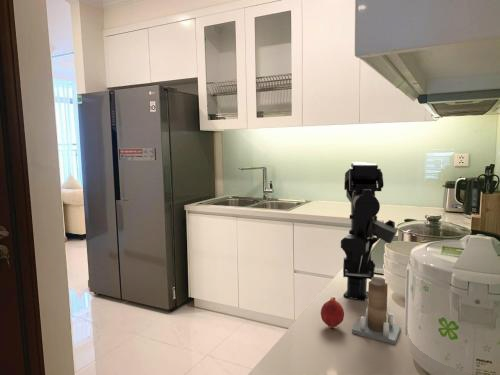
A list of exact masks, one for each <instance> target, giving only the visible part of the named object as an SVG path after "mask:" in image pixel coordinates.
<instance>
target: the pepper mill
mask: <svg viewBox="0 0 500 375" xmlns="http://www.w3.org/2000/svg"><path fill="white" fill-rule="evenodd" d="M367 287H368V289H367V291H368V297H367V308H368V322H367V327H368V328H369V329H370V330H373V331H376V332H383V326H384V322H387V321H388V289H389V286H388V282H386V279H385V278H384V277H381V276H374V277H372V278H371V279H370V281H368V286H367Z"/></svg>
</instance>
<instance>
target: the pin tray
mask: <svg viewBox="0 0 500 375" xmlns="http://www.w3.org/2000/svg"><path fill="white" fill-rule="evenodd" d="M367 322H368V307H366V308H365V316H362V315H360V316H359V318H358V319H357V320H356V322H355V324H354V325H353V327H352V328H351V333H352V334H355V335H358V336H361V337H365V338H370V339H372V340H376V341H381V342H385V343H387V344H391V345H396V344H397V343H396V342H397V341H398V337H399V335H400V332H401V328H402V326H401V325H400V324H394V314H393V313H392V312H387V321H386V322H384V326H383V332H376V331H373V330H370V329H369V328H368V327H367Z"/></svg>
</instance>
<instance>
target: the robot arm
mask: <svg viewBox="0 0 500 375" xmlns="http://www.w3.org/2000/svg"><path fill="white" fill-rule="evenodd" d="M350 163H351V164H350V167H349V168H348V170H347V171H346V172H345V173H344V188H343V189H344V191H345V192H346V193H345V194H346V196H345V197H346V198H347V200H348V201H349V202H350V214H349V220H350V229H349V230H348V234H347V235H346V236H345V237H343V238H342V239H341V240H340V248H341V249H342V251H344V253H345V257H343V263H342V274H343V276H342V277H343V278H346V279H347V281H346V282H347V284H346V285H347V287H346V290H345V292H344V293H343V294H342V295H343V297H346V298H350V299H354V300H360V301H366V299H368V289H367V287H368V286H367V282H368V280H371V278H372V277H375V270H376V269H375V268H376V263H375V262H374V259H373V258H372V256H371V255H372V254H371V252H372V249H373V246H374V244H375V243H377V242H378V241H380V240H383V241H384V242H385V243H387V244H392V242H393V241H394V239H395V237H396V235H397V232H398V231H399V230H398V227H396V224H395V221H393V220H391V219H388V220H387V221H386V222H384V221H379V220H378V214H379V211H380V208H381V204H380V202H379V200H378V198H377V197H376V192H382V189H383V188H384V177H383V176H384V174H383V172H382V169H381V168H380V167H379V166H378V164H377V163H368V162H367V161H353V162H350Z"/></svg>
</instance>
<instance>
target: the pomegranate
mask: <svg viewBox="0 0 500 375" xmlns="http://www.w3.org/2000/svg"><path fill="white" fill-rule="evenodd" d="M320 317H321V320H322V322H323V323H324V324H325V325H326V326H327V327H329V328H331V329H333V328H336V327H338V326H339V325H341V324H342V322H344V319H345V311H344V308H343V306H342V305H341V303H339V301H337V300H336V297H335V296H331V298H330V299H329V300H328V301H326V302H324V303H323V305H322V306H321V309H320Z"/></svg>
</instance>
